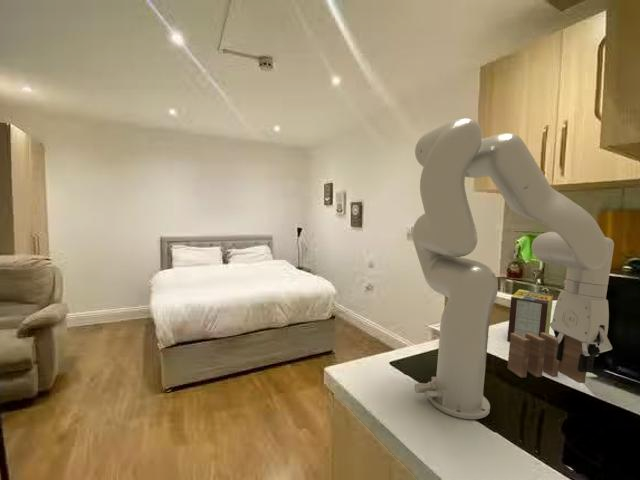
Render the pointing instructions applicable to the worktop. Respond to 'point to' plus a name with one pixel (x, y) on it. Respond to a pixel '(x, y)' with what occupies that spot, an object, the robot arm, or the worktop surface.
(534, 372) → the domino
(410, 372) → the worktop surface
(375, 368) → the worktop surface
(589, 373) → the pad
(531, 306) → the protein box
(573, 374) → the domino
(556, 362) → the domino
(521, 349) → the domino
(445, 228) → the robot arm
